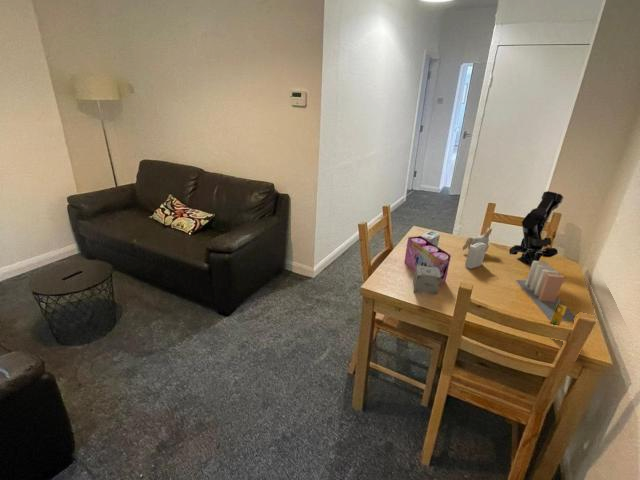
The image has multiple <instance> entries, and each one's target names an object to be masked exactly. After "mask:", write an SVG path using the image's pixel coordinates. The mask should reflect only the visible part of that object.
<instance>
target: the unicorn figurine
mask: <svg viewBox="0 0 640 480" xmlns="http://www.w3.org/2000/svg"><path fill="white" fill-rule="evenodd" d="M492 230H493V228H491V227H490V226H489V224H487V228H486V231H485V232H484V233H483V234H481V235H479V236H475V235H474V236H470V237H469V236H468V237H467V239H466V241H465V243H464V244H463V246H462V251H464V250H468V251H469V248H470V247H471V246H472V245H474V244H476V243H484V244H486V247H487V248H486V251H485V254H486V252H487V251H488V249H489V248H490V247H489V241H490V240H489V238H490V237H489V236H490V235H491V234H492Z"/></svg>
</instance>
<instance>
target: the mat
mask: <svg viewBox="0 0 640 480" xmlns="http://www.w3.org/2000/svg"><path fill="white" fill-rule="evenodd" d="M526 280H527V279H515V281H516V282H517V284H519V286H520V287H521V288H522V289H523V291H524V292H525V293H526V294H527V295H528V296H529V298H530V299H531V300H532V302H534V304H535V305H536V306H537V307H538V308H539V310H540V311H541V312H542V313H543V314H544V315H545V316H546V318H547V320H549V321H551V318H552V316H553V314H554V311H555V309H556V307H557V304H560V305H563V306H566V305H565V303H563V301H561V300H560V299H559V297H557V298H556V300H555V302H549V301H540V300H539V299H538V298H539V296H536V295H535V294H534V291H532V290H530V289H529V288H530V286H527V285H526V284H525V283H526ZM559 300H560V301H559ZM558 302H559V303H558ZM575 316H576V315H575V314H574V313H573V312H572V310H570V309H569V308H568V307H567V308H566V311H565V313H564V316H563V318H562V320H561V322H571V323H575V322H574V318H575Z"/></svg>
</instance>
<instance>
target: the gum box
mask: <svg viewBox="0 0 640 480" xmlns="http://www.w3.org/2000/svg"><path fill="white" fill-rule="evenodd" d="M451 258H452V255H451V254H449V253H448V252H446V251H445V250H444V249H442V248H440V247H437V246H435V245H434V244H432V243H431V242H429V241H428V240H426V239H425V238H423V237H422V236H420V235H419V236H411V237H407V244H406V250H405V257H404V263H405V264H406V265H408V266H409V268H411V269H412V270H414V271H416V266H417V265H420V266H427V267H436V268H439V270H440V275H441V281H440V282H439V284H441V283H446V280H447V276H448V271H449V266H450V261H451Z"/></svg>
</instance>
